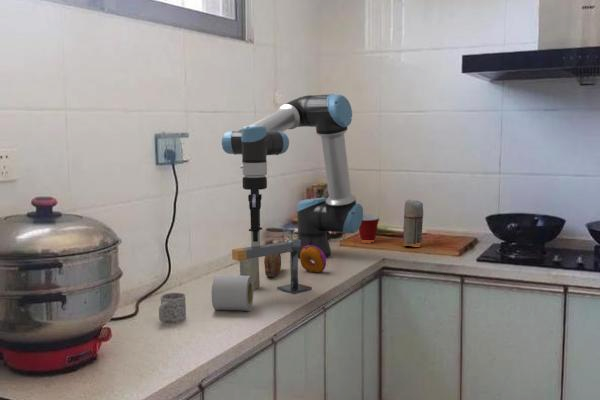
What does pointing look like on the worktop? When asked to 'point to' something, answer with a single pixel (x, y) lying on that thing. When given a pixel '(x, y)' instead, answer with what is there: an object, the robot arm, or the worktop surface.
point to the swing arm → (266, 250)
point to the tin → (272, 265)
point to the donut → (314, 254)
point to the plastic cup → (369, 226)
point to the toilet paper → (232, 292)
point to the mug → (172, 308)
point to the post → (294, 277)
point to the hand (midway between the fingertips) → (255, 251)
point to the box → (251, 270)
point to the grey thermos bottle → (413, 222)
